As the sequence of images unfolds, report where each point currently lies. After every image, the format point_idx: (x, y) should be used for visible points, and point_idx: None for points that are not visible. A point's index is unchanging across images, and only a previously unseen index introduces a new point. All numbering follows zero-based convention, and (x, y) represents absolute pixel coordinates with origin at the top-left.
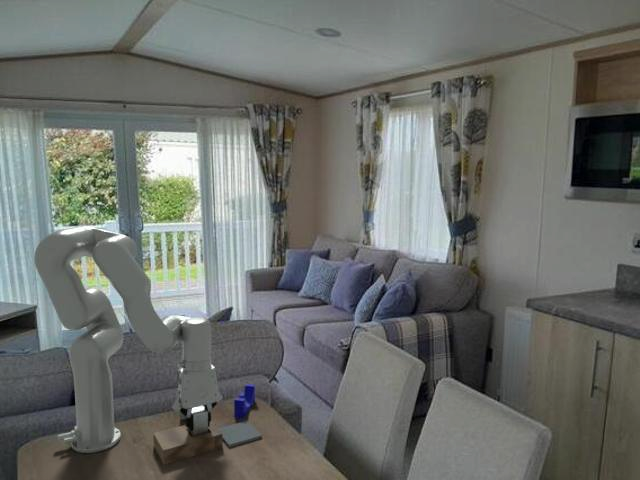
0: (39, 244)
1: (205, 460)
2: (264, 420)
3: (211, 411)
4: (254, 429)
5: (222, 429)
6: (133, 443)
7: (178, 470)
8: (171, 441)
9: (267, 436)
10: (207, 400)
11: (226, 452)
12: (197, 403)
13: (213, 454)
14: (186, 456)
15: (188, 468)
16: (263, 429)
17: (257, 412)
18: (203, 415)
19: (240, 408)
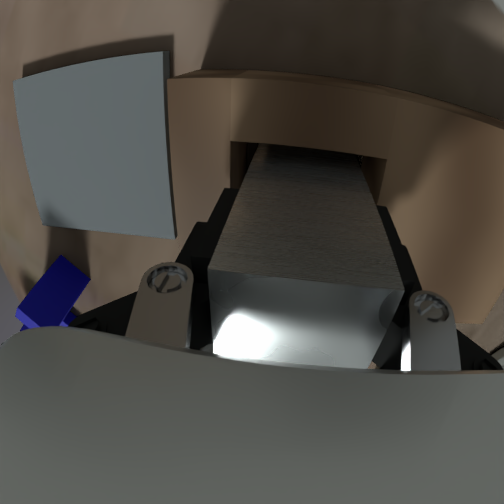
0: None
1: (342, 4)
2: (3, 201)
3: (161, 266)
4: (27, 142)
5: (147, 218)
6: (480, 328)
7: (489, 32)
8: (493, 205)
9: (6, 82)
10: (151, 418)
11: (200, 12)
12: (400, 430)
13: (275, 30)
14: (422, 96)
15: (448, 7)
16: (8, 142)
17: (22, 261)
18: (271, 250)
19: (48, 291)
